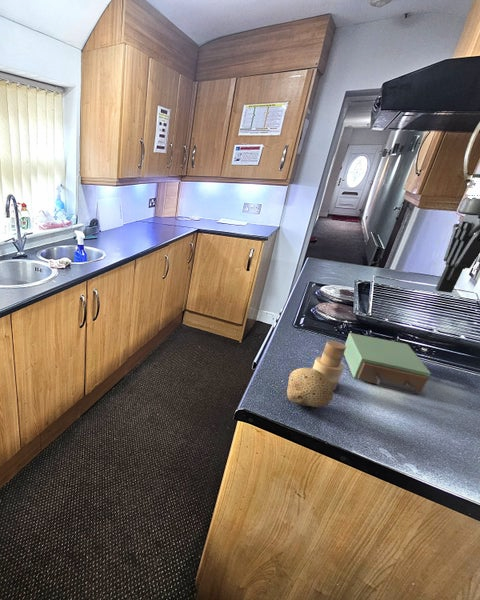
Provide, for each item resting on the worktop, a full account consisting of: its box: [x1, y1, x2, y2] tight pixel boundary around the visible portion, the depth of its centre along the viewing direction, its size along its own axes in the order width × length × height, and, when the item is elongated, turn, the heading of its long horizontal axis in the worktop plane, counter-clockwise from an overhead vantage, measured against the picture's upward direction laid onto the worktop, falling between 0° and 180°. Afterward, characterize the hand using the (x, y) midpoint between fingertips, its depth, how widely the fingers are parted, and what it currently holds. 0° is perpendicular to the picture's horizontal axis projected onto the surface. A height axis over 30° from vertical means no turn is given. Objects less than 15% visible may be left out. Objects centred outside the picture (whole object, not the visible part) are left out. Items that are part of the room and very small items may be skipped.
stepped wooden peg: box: [312, 340, 346, 392], centre depth 85 cm, size 6×6×12 cm
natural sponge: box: [286, 367, 334, 408], centre depth 78 cm, size 9×9×10 cm
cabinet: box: [343, 332, 432, 395], centre depth 92 cm, size 17×14×7 cm
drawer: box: [357, 362, 429, 395], centre depth 89 cm, size 20×13×5 cm, turn 152°
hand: (443, 290), depth 86 cm, fingers closed
